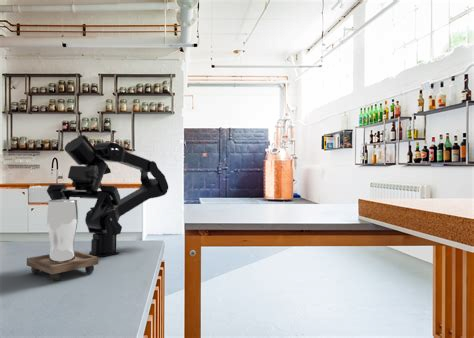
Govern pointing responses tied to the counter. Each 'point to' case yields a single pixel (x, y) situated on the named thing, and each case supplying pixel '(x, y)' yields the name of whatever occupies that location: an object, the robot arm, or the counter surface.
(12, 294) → the counter surface
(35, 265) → the walnut dolly
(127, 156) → the robot arm
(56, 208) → the beer glass
